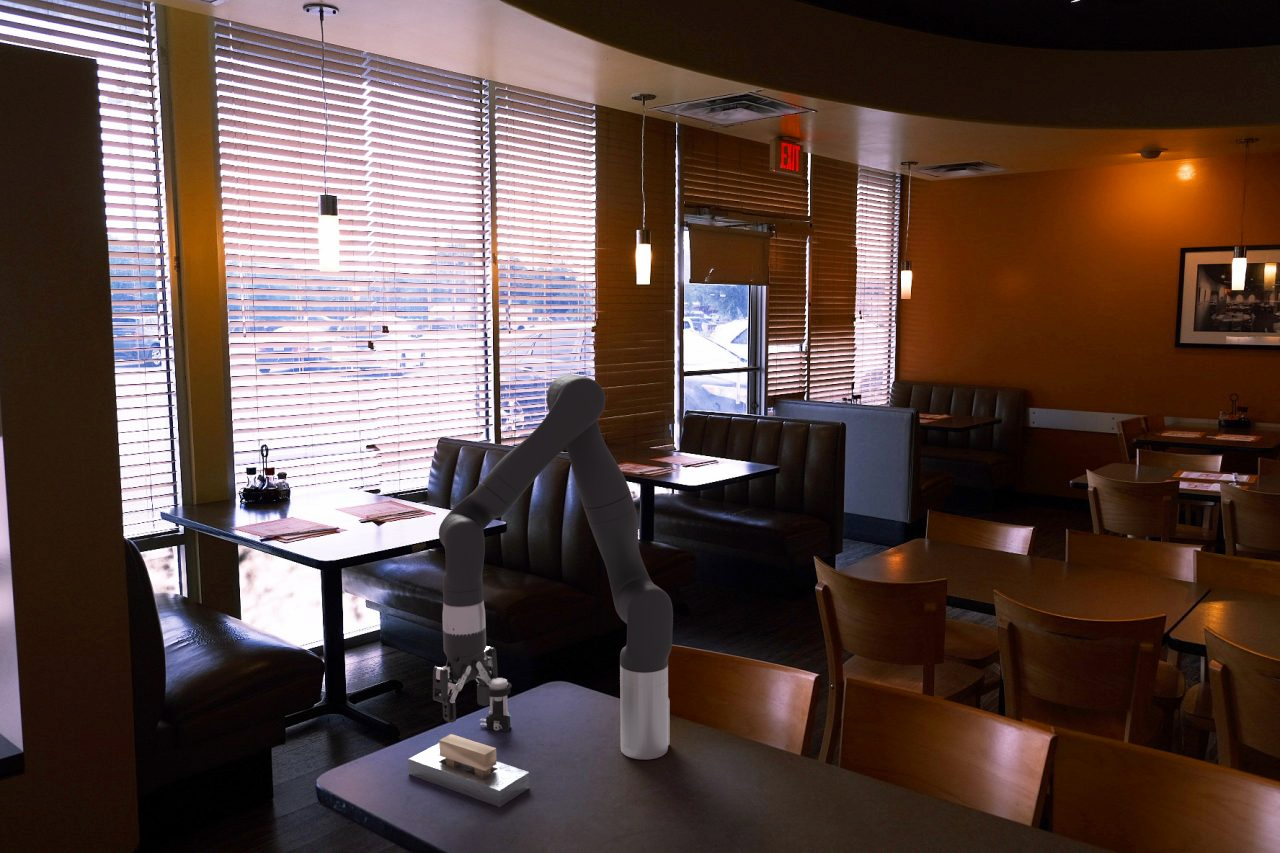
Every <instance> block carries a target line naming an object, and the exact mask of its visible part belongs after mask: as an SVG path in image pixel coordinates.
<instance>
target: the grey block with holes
mask: <svg viewBox="0 0 1280 853" xmlns="http://www.w3.org/2000/svg"><path fill="white" fill-rule="evenodd" d="M496 763H497V764H496V765H494V766H493V767H491V773H490V774H489V775H487V776H485V777H484V778H483V777H480V776H477V775H475V767H472V766H469V765H466V764H463V763H462V764H460V765H458V766H456V767H451V766H448V765H446V758H445V757H442V756H440V743H439V742H438V743H436V744H435V745H433V746H430V747H428V748H427V749H425V750H423V751H421V752H419V753H417V754H414V755H413V756H411V757H409V758H408V775H409V774H410V776H413V777H415V778H417V779H420V778H421V780H424V781H426V782H429V783H431V784H435V785H437V786H440V787H442V788H444V789H445V788H446V789H448V790H451V791H454V792H457V793H459V794H463V795H464V796H467V797H471V798H473V799H476V800H479V801H481V802H484V803H487V804H490V805H492V806H494V807H498V808H501V807H502V806H504V805H505V804H507V803H508V802H510V801H512V800H513V799H515V798H516V797H519V795H521V794H523V793H525V792H526V791H527V790H529V789H530V772H529V771H527V770H523V769H520V768H517V767H515V766H511V765H508V764H506V763H503V762H500V761H497V760H496Z"/></svg>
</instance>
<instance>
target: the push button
mask: <svg viewBox="0 0 1280 853" xmlns="http://www.w3.org/2000/svg"><path fill="white" fill-rule="evenodd" d="M511 689H512V683H511V682H509V681H508V679H506V678H503V677H497V678H496V679H493V680H492V681H491V684H490V685H489V691H490V699H489V711H488V715H487V716H486V717H485V718H480V719H479V722H480V721H482V722H481V723H480V724H479V725H481V726H486V729H488V730H494V731H503V732H508V731H509V730H510V728H511V727H512V715H511V714H510V712H509V711H508V695H509V694H511Z"/></svg>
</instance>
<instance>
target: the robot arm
mask: <svg viewBox="0 0 1280 853" xmlns="http://www.w3.org/2000/svg"><path fill="white" fill-rule="evenodd" d="M605 394H606V393H605V392H604V389H603V388H602V386H601V384H599V383H598V382H597V381H595V380H594V379H593V378H590V377H587V376H584V375H583V376H582V375H579V374H573V373H572V374H571V373H569V374H563V375H560V376H558V377H556V378H555V379H554V380H553V381H552V382H551V383H550V385H549V387H548V389H547V393H546V405H547V410H548V411H549V412H548V413H547V414H546V415H545V417H544V419H542V421H541V422H540V424H539V425H538V426H537V427H536V428H535V429H534V430H533V431H532V432H531V434H529V435H528V436H527V437H525V439H524V440H523V441H521V442H520V443H518V445H516V446H515V447H514V448H512V449H511V450H510V451H509V452H508V453H506V454H505V455H504V456H503V457H502V458H501V459H500V460H499V461H498V462H497V463H496V464H495V465H494V466H493V467H492V469H490V471H489V472H488V473H487V474H486V475H485V477H484V478H483V479H482V481H480V482H479V484H478V485H477V486H476V488H475V489H474V490H473V491H472V492H471V493H470V494H468V495H467V496H466V497H465V498H464V499H462V500H461V501H460V502H459V503H458V504H456V505H455V507H453V508H452V509H451V510H450V511H449V512H448V514H447V515H446V516H445V517H444V518H443V520H442V521H441V523H440V525H439V528H438V538H439V541H440V543H441V544H442V546H443V547H444V551H445V572H444V574H443V578H442V594H443V595H442V598H443V599H442V600H443V604H442V605H443V606H442V639H443V640H442V641H443V644H442V645H443V653H444V654H445V656H446V658H447V659H446V664H445V665H444V666H441V667H440V666H434V667H433V670H432V700H433V701H435V702H439V703H442V719H444V721H445V722H447V723H451V724H453V723H455V722H457V708H456V707H457V706H456V705H457V704H456V698H457V696H458V694H459V692H461V691H462V689H463V687H464V685H465V684H468V683H469V682H470V681H474V680H475V681H476V682H477V683H478V684H476V701H477V704H478V705H479V706H482V707H486V706H488V705H490V691H489V685H490V684H491V681H492V680H493V679H496V678H499V677H498V676H499V672H498V658H497V648H495V647H492V646H488V645H487V629H486V628H487V626H486V609H485V602H484V582H483V569H484V565H485V563H484V562H485V555H486V554H485V553H486V543H485V542H486V541H485V540H486V539H485V534H484V530H485V529H486V528H487V527H488V526H489V525H490V524H491V523H492V522H493V520H495V519H499V518H502V517H503V516H505V514H506V513H508V512H509V511H510V509H511V508H512V507H513V506H514V505H515V504H516V503H517V501H518V500H519V499H520V498H521V496H522V495H524V493H525V492H526V490H527V489H528V488H529V487H530V486H531V485H532V483H533V482H534V481H535V480H536V479H537V477H538V476H540V474H541V473H542V472H543V471H544V470H545V468H547V467H548V466H549V465H550V463H551V462H552V461H553V460H554V459H555V458H556V457H557V456H558V455H559V454H560V453H562V451H564V449H566V453H567V455H568V458H569V461H570V465H571V470H572V473H573V477H574V480H575V483H576V486H577V491H578V493H579V496H580V500H581V503H582V506H583V509H584V512H585V515H586V518H587V522H588V524H589V527H590V529H591V532H592V535H593V538H594V540H595V543H596V545H597V548H598V550H599V553H600V555H601V557H602V560H603V563H604V565H605V568H606V572H607V578H608V582H609V586H610V589H611V595H612V599H613V600H612V601H613V604H614V607H615V612H616V613H617V615H618V617H619V618H620V619H621V621H623V622H624V623H625V624H626V627H627V628H626V645H625V646H624V647H622V649H621V651H620V653H619V670H620V671H619V672H620V673H619V675H620V676H619V680H620V681H619V683H620V684H619V685H620V695H619V696H620V700H619V701H620V702H619V703H620V704H619V705H620V710H619V711H620V713H619V714H620V751H621V753H622V754H623V755H624V756H626V757H628V758H630V759H634V760H644V761H645V760H653V759H658V758H660V757H663V756H664V755H665V754H667V752H668V749H669V746H670V743H671V742H670V738H671V737H670V727H671V726H670V721H671V719H670V716H671V715H670V710H671V709H670V707H671V704H670V702H671V701H670V698H669V656H670V654H671V652H672V648H673V647H672V645H673V629H674V628H673V625H674V609H673V604H672V599H671V597H670V596H669V594H668V593H667V592H666V591H665V590H663V589H662V588H660V587H659V586H658V585H656V584H654V582H653V581H652V579H651V577H650V575H649V573H648V571H647V567H646V566H645V563H644V561H643V558H642V555H641V552H640V546H639V519H638V514H637V509H636V504H635V503H634V499H633V497H632V495H633V494H631V490H630V487H629V485H628V482H627V479H626V477H625V476H624V474H623V472H622V470H621V468H620V466H619V464H618V463H617V461H616V459H615V458H614V457H613V454H612V453H611V451H610V449H609V448H608V446H607V444H606V442H605V440H604V437H603V435H602V431H601V428H600V424H599V421H598V419H599V418H600V417H601V416H602V414H603V412H604V411H605V407H606V395H605ZM452 681H453V682H455V683H453V682H452ZM450 691H451V692H450Z"/></svg>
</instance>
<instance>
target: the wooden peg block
mask: <svg viewBox="0 0 1280 853" xmlns="http://www.w3.org/2000/svg"><path fill="white" fill-rule="evenodd" d="M438 741H439V742H438V743H440V756H442V757H445V758H446V765H448V766H451V767H456V766H458V765H460V764H462V763H463V764H466V765H469V766H472V767H475V775H477V776H480V777H483V778H484V777H485V776H487V775H489V774H490V773H491V767H493V766H494V765H496V764H497V763H496V761H497V747H493V746H490V745H487V744H483V743H481V742H477V741H474V740H471V739H468V738H465V737H462V736H458V735H456V734H452V733H450V734H448V735H446V736H445V737H442V738H440V739H439V740H438Z"/></svg>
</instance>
